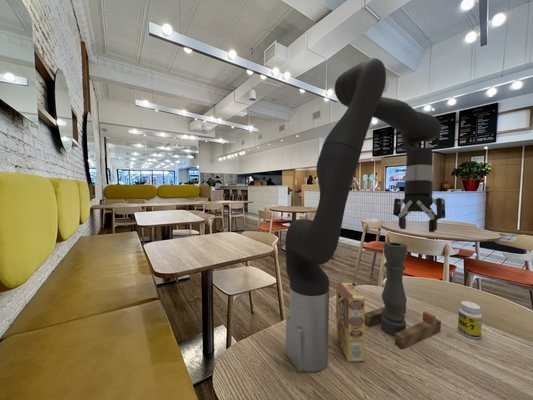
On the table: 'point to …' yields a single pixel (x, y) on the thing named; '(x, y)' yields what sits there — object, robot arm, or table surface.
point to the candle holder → (394, 289)
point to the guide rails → (411, 333)
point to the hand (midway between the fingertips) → (416, 230)
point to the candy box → (350, 321)
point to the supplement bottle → (470, 320)
